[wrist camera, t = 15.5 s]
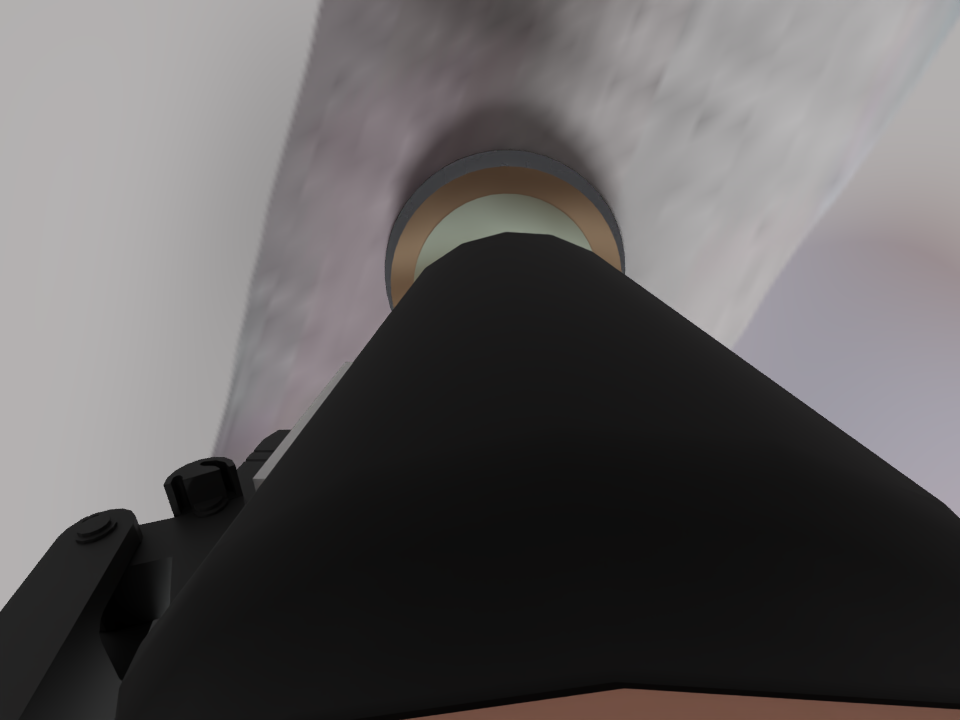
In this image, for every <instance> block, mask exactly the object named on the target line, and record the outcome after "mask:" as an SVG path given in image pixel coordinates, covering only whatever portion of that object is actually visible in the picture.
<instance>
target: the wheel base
mask: <svg viewBox="0 0 960 720" xmlns="http://www.w3.org/2000/svg"><path fill="white" fill-rule="evenodd" d="M501 166H512V167H524V168H530V169H536V170H539V171H542V172H545V173H548V174H551V175H553V176H555V177H558V178H560V179H562V180H564V181H566V182H567V183H569V184H570V185H572V186H573V187H575V188H576V189H578V190H579V191H580V192H581V193H582V194H583V195H585V196H586V197H587V198H588V199H589V200H590V201H591V202H592V203H593V204H594V206H595V207H596V208H597V209H598V210H599V212H600V213H601V214H602V216H603V217H604V219H605V221H606V222H607V224H608V226H609V227H610V230H611V232H612V234H613V237H614V239H615V241H616V245H617V249H618V252H619V256H620V263H621V271H622V273H623V274H625V256H624V249H623V244H622V239H621V235H620V232H619V229H618V226H617V223H616V221H615V219H614V217H613V215H612V213H611V211H610V209H609V207H608V206H607V204H606V203H605V201H604V200H603V198H602V197H601V196H600V194H599V193H598V192H597V191H596V190H595V189H594V188H593V187H592V185H591V184H590V183H589V182H588V181H587V180H585V179H584V178H583V177H582V176H580V175H579V174H578V173H577V172H575V171H574V170H572V169H571V168H569V167H567V166H566V165H564V164H562V163H560V162H558V161H556V160H553V159H551V158H548V157H546V156H543V155H539V154H535V153H531V152H527V151H517V150H496V151H488V152H483V153H478V154H474V155H471V156H468V157H465V158H462V159H460V160H457V161H455V162H454V163H452V164H450V165H448V166H446V167H444V168H442V169H441V170H440V171H438V172H437V173H435V174H434V175H432V176H431V177H430V178H429V179H428V180H426V181H425V182H424V183H423V184H422V185H421V186H420V187H419V188H418V189H417V190H416V191H415V193H414V194H413V195H412V196H411V198H410V199H409V200H408V201H407V203H406V204H405V206H404V208H403V209H402V211H401V213H400V214H399V216H398V218H397V220H396V223H395V225H394V227H393V230H392V232H391V236H390V239H389V243H388V247H387V253H386V260H385V282H386V290H387V296H388V300H389V304H390V308H391V310H393V309H394V307H393V301H392V296H391V270H392V263H393V258H394V253H395V250H396V247H397V244H398V241H399V239H400V236H401V234H402V232H403V230H404V228H405V226H406V225H407V223H408V221H409V220H410V218H411V217H412V215H413V214H414V213H415V211H416V210H417V209H418V208H419V207H420V205H421V204H422V203H423V202H424V201H425V200H426V199H427V198H428V197H429V196H431V195H432V194H433V193H434V192H436V191H437V190H438V189H439V188H440V187H442V186H444V185H445V184H447V183H449V182H450V181H452V180H454V179H456V178H458V177H460V176H463V175H465V174H468V173H470V172H474V171H477V170H481V169H485V168H492V167H501Z"/></svg>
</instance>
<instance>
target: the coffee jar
mask: <svg viewBox="0 0 960 720" xmlns="http://www.w3.org/2000/svg"><path fill="white" fill-rule="evenodd" d="M115 720H960V518H959V517H958V516H957V515H956V514H955V513H954V512H953V511H951V509H949V508H948V507H947V506H946V505H945V504H944V503H943V502H941V501H940V500H939V499H937V498H936V497H934V496H933V495H932V494H930V493H929V492H927V491H926V490H925V489H923V488H922V487H920V486H919V485H918V484H916V483H915V482H913V481H912V480H911V479H909V478H908V477H906V476H905V475H904V474H902V473H901V472H899V471H898V470H897V469H895V468H894V467H892V466H891V465H890V464H888V463H887V462H886V461H884V460H883V459H881V458H880V457H879V456H877V455H876V454H874V453H873V452H871V451H870V450H869V449H867V448H866V447H864V446H863V445H862V444H860V443H859V442H858V441H856V440H855V439H853V438H852V437H851V436H849V435H848V434H846V433H845V432H844V431H842V430H841V429H839V428H838V427H837V426H835V425H834V424H832V423H831V422H829V421H828V420H827V419H826V418H824V417H823V416H821V415H820V414H818V413H817V412H816V411H814V410H813V409H811V408H810V407H809V406H807V405H806V404H805V403H803V402H802V401H800V400H799V399H798V398H796V397H795V396H793V395H792V394H791V393H789V392H788V391H786V390H785V389H784V388H782V387H781V386H779V385H778V384H777V383H775V382H774V381H772V380H771V379H770V378H768V377H767V376H766V375H764V374H763V373H761V372H760V371H758V370H757V369H756V368H754V367H753V366H752V365H750V364H749V363H747V362H746V361H744V360H743V359H742V358H740V357H739V356H738V355H736V354H735V353H733V352H732V351H731V350H729V349H728V348H726V347H725V346H724V345H722V344H721V343H719V342H718V341H717V340H715V339H714V338H713V337H711V336H710V335H708V334H707V333H706V332H704V331H703V330H701V329H700V328H699V327H697V326H696V325H694V324H693V323H692V322H690V321H689V320H687V319H686V318H685V317H683V316H682V315H680V314H679V313H678V312H676V311H675V310H673V309H672V308H671V307H669V306H668V305H666V304H665V303H664V302H662V301H661V300H660V299H658V298H657V297H655V296H654V295H653V294H651V293H650V292H648V291H647V290H646V289H644V288H643V287H641V286H640V285H639V284H637V283H636V282H634V281H633V280H632V279H630V278H629V277H627V276H626V275H625V274H623V273H622V272H620V271H619V270H618V269H616V268H615V267H613V266H612V265H611V264H609V263H608V262H606V261H605V260H604V259H602V258H601V257H600V256H598V255H597V254H595V253H594V252H592V251H590V250H588V249H585V248H583V247H580V246H578V245H575V244H573V243H571V242H568V241H566V240H563V239H561V238H559V237H556V236H554V235H550V234H534V233H518V232H503V233H499V234H495V235H492V236H488V237H484V238H480V239H477V240H473V241H469V242H466V243H462V244H460V245H459V246H457V247H456V248H454V249H453V250H451V251H450V252H448V253H447V254H445V255H444V256H442V257H441V258H439V259H438V260H436V261H435V262H433V263H432V264H430V265H429V266H427V267H426V268H425V269H424V270H423V271H422V273H421V274H420V275H419V276H418V278H417V279H416V280H415V282H414V283H413V284H412V286H411V287H410V288H409V289H408V291H407V292H406V293H405V295H404V296H403V297H402V299H401V300H400V301H399V302H398V304H397V305H396V306H395V308H394V309H393V310H392V312H391V313H390V314H389V316H388V317H387V318H386V320H385V321H384V322H383V324H382V325H381V326H380V328H379V329H378V330H377V332H376V333H375V334H374V336H373V337H372V338H371V339H370V341H369V342H368V343H367V345H366V346H365V347H364V349H363V350H362V351H361V353H360V354H359V355H358V357H357V358H356V359H355V361H354V362H353V363H352V365H351V366H350V367H349V369H348V370H347V371H346V373H345V374H344V375H343V377H342V378H341V379H340V381H339V382H338V383H337V384H336V386H335V387H334V388H333V390H332V391H331V392H330V394H329V395H328V396H327V398H326V399H325V400H324V402H323V403H322V404H321V406H320V407H319V408H318V410H317V411H316V412H315V414H314V415H313V416H312V418H311V419H310V420H309V422H308V423H307V424H306V425H305V427H304V428H303V429H302V431H301V432H300V433H299V435H298V436H297V437H296V439H295V440H294V441H293V443H292V444H291V445H290V447H289V448H288V449H287V451H286V452H285V453H284V455H283V456H282V457H281V459H280V460H279V461H278V463H277V464H276V465H275V466H274V468H273V469H272V470H271V472H270V473H269V474H268V476H267V477H266V478H265V480H264V481H263V482H262V484H261V485H260V486H259V488H258V489H257V490H256V492H255V493H254V494H253V496H252V497H251V498H250V500H249V501H248V502H247V504H246V505H245V506H244V508H243V509H242V510H241V511H240V513H239V514H238V515H237V517H236V518H235V519H234V521H233V522H232V523H231V525H230V526H229V527H228V529H227V530H226V531H225V533H224V534H223V535H222V537H221V538H220V539H219V541H218V542H217V543H216V545H215V546H214V547H213V549H212V550H211V551H210V552H209V554H208V555H207V556H206V558H205V559H204V560H203V562H202V563H201V564H200V566H199V567H198V568H197V570H196V571H195V572H194V574H193V575H192V576H191V578H190V579H189V580H188V582H187V583H186V584H185V586H184V587H183V588H182V590H181V591H180V592H179V593H178V595H177V596H176V597H175V599H174V600H173V601H172V603H171V604H170V605H169V607H168V608H167V609H166V611H165V612H164V613H163V615H162V616H161V617H160V619H159V620H158V621H157V623H156V624H155V625H154V627H153V628H152V629H151V631H150V632H149V633H148V635H147V636H146V637H145V638H144V640H143V641H142V642H141V644H140V646H139V648H138V650H137V652H136V654H135V656H134V658H133V660H132V662H131V664H130V666H129V668H128V670H127V672H126V674H125V677H124V679H123V681H122V683H121V685H120V687H119V692H118V700H117V708H116V716H115Z"/></svg>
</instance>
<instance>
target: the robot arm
mask: <svg viewBox="0 0 960 720" xmlns="http://www.w3.org/2000/svg"><path fill="white" fill-rule="evenodd" d="M352 363H353V362H345V363H344V365H343V366H342V367H341V368H340V370H339V371H338V372H337V373H336V375H335V376H334V377H333V378H332V380H331V381H330V382H329V383H328V385H327V386H326V387H325V388H324V390H323V391H322V392H321V393H320V395H319V396H318V397H317V399H316V400H315V401H314V402H313V404H312V405H311V406H310V407H309V409H308V410H307V411H306V412H305V414H304V415H303V416H302V417H301V419H300V420H299V421H298V422H297V424H296V425H295V426H294V427H293V429H292V430H278V431H276V432H275V433H273V434H271V435H270V436H268V437H267V438H265V439H264V440H263V441H262V442H261V443H260V444H259V445H258V446H257V448H256V449H255V450H254V453H251V454H250V456H249V457H248V458H247V459H246V462H243V464H242V465H241V466H240V467H239V468H238V469H237V470H236V466H235V464H234V462H233V461H232V460H230V459H227V458H225V457H211V458H206V459H201V460H198V461H195V462H192V463H189V464H187V465H185V466H183V467H181V468H179V469H178V470H176V471H175V472H173V473H172V474H171V475H170V476H169V477H168V478H167V479H166V481H165V483H164V488H165V491H166V494H167V497H168V500H169V503H170V505H171V508H172V511H173V514H174V518H170V519H166V520H161V521H156V522H151V523H146V524H142V525H139V524H138V522H137V519H136V517H135V515H134V513H133V512H132V511H131V510H126V509H112V510H107V511H104V512H98V513H95V514H93V515H90V516H89V517H85V518H83V519H81V520H80V521H78V522H77V523H75V524H74V525H72V526H71V527H69V528H68V529H66V530H65V531H64V532H63V533H62V534H61V535H60V536H59V537H58V538H57V539H56V541H55V542H54V543H53V544H52V546H51V547H50V548H49V550H48V551H47V552H46V553H45V555H44V556H43V557H42V559H41V560H40V561H39V562H38V564H37V565H36V566H35V568H34V569H33V570H32V571H31V573H30V574H29V575H28V577H27V578H26V579H25V581H24V582H23V583H22V584H21V586H20V587H19V589H18V590H17V591H16V592H15V593H14V595H13V596H12V597H11V599H10V600H9V601H8V603H7V604H6V605H5V606H4V608H3V609H2V610H1V612H0V720H115V716H116V708H117V700H118V692H119V687H120V685H121V683H122V681H123V679H124V677H125V674H126V672H127V670H128V668H129V666H130V664H131V662H132V660H133V658H134V656H135V654H136V652H137V650H138V648H139V646H140V644H141V642H142V641H143V640H144V638H145V637H146V636H147V635H148V633H149V632H150V631H151V629H152V628H153V627H154V625H155V624H156V623H157V621H158V620H159V619H160V617H161V616H162V615H163V613H164V612H165V611H166V609H167V608H168V607H169V605H170V604H171V603H172V601H173V600H174V599H175V597H176V596H177V595H178V593H179V592H180V591H181V590H182V588H183V587H184V586H185V584H186V583H187V582H188V580H189V579H190V578H191V576H192V575H193V574H194V572H195V571H196V570H197V568H198V567H199V566H200V564H201V563H202V562H203V560H204V559H205V558H206V556H207V555H208V554H209V552H210V551H211V550H212V549H213V547H214V546H215V545H216V543H217V542H218V541H219V539H220V538H221V537H222V535H223V534H224V533H225V531H226V530H227V529H228V527H229V526H230V525H231V523H232V522H233V521H234V519H235V518H236V517H237V515H238V514H239V513H240V511H241V510H242V509H243V508H244V506H245V505H246V504H247V502H248V501H249V500H250V498H251V497H252V496H253V494H254V493H255V492H256V490H257V489H258V488H259V486H260V485H261V484H262V482H263V481H264V480H265V478H266V477H267V476H268V474H269V473H270V472H271V470H272V469H273V468H274V466H275V465H276V464H277V463H278V461H279V460H280V459H281V457H282V456H283V455H284V453H285V452H286V451H287V449H288V448H289V447H290V445H291V444H292V443H293V441H294V440H295V439H296V437H297V436H298V435H299V433H300V432H301V431H302V429H303V428H304V427H305V425H306V424H307V423H308V422H309V420H310V419H311V418H312V416H313V415H314V414H315V412H316V411H317V410H318V408H319V407H320V406H321V404H322V403H323V402H324V400H325V399H326V398H327V396H328V395H329V394H330V392H331V391H332V390H333V388H334V387H335V386H336V384H337V383H338V382H339V381H340V379H341V378H342V377H343V375H344V374H345V373H346V371H347V370H348V369H349V367H350V366H351V365H352Z"/></svg>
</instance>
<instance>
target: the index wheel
mask: <svg viewBox="0 0 960 720" xmlns="http://www.w3.org/2000/svg"><path fill="white" fill-rule="evenodd" d="M503 232H518V233H534V234H550V235H554V236H556V237H559V238H561V239H563V240H566V241H568V242H571V243H573V244H575V245H578V246H580V247H583V248H585V249H588V250H590V251H592V252H594V253H595V254H597V255H598V256H600V257H601V258H602V259H604V260H605V261H606V262H608V263H609V264H611V265H612V266H613V267H615V268H616V269H618V270H619V271H620V272H622V271H621V263H620V256H619V252H618V249H617V245H616V241H615V239H614V237H613V234H612V232H611V230H610V227H609V226H608V224H607V222H606V221H605V219H604V217H603V216H602V214H601V213H600V212H599V210H598V209H597V208H596V207H595V206H594V204H593V203H592V202H591V201H590V200H589V199H588V198H587V197H586V196H585V195H583V194H582V193H581V192H580V191H579V190H578V189H576V188H575V187H573V186H572V185H570V184H569V183H567V182H566V181H564V180H562V179H560V178H558V177H555V176H553V175H551V174H548V173H545V172H542V171H539V170H536V169H530V168H524V167H512V166H501V167H492V168H485V169H481V170H477V171H474V172H470V173H468V174H465V175H463V176H460V177H458V178H456V179H454V180H452V181H450V182H449V183H447V184H445V185H444V186H442V187H440V188H439V189H438V190H437V191H436V192H434V193H433V194H432V195H431V196H429V197H428V198H427V199H426V200H425V201H424V202H423V203H422V204H421V205H420V207H419V208H418V209H417V210H416V211H415V213H414V214H413V215H412V217H411V218H410V220H409V221H408V223H407V225H406V226H405V228H404V230H403V232H402V234H401V236H400V239H399V241H398V244H397V247H396V250H395V253H394V258H393V263H392V270H391V296H392V301H393V307H394V308H395V306H396V305H397V304H398V302H399V301H400V300H401V299H402V297H403V296H404V295H405V293H406V292H407V291H408V289H409V288H410V287H411V286H412V284H413V283H414V282H415V280H416V279H417V278H418V276H419V275H420V274H421V273H422V271H423V270H424V269H425V268H426V267H427V266H429V265H430V264H432V263H433V262H435V261H436V260H438V259H439V258H441V257H442V256H444V255H445V254H447V253H448V252H450V251H451V250H453V249H454V248H456V247H457V246H459V245H460V244H462V243H466V242H469V241H473V240H477V239H480V238H484V237H488V236H492V235H495V234H499V233H503Z"/></svg>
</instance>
